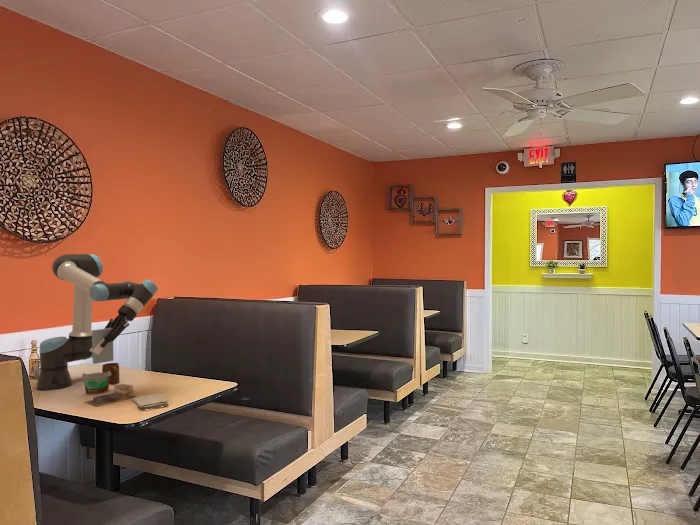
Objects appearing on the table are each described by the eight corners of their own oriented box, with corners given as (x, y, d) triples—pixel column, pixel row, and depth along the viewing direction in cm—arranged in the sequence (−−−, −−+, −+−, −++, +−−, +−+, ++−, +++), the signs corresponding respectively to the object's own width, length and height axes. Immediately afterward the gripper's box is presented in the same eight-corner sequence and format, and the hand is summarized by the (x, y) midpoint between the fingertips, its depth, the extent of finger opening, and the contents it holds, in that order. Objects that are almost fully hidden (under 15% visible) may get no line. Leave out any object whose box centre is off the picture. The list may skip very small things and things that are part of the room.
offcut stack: (124, 394, 234) (124, 383, 234) (134, 396, 229) (133, 385, 229) (113, 396, 230) (112, 385, 230) (122, 399, 225) (122, 388, 225)
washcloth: (140, 412, 210) (140, 405, 210) (130, 403, 225) (130, 396, 225) (170, 407, 217) (170, 399, 217) (159, 398, 231) (158, 391, 231)
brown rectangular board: (123, 395, 236) (123, 388, 236) (137, 399, 228) (137, 392, 228) (82, 404, 222) (82, 397, 222) (96, 409, 214) (96, 401, 214)
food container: (79, 397, 234) (78, 375, 233) (82, 394, 239) (82, 372, 239) (109, 395, 237) (109, 373, 237) (111, 391, 243) (111, 370, 243)
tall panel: (111, 360, 228) (110, 327, 228) (113, 360, 227) (112, 328, 226) (92, 363, 222) (91, 330, 221) (94, 363, 220) (94, 330, 220)
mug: (124, 384, 257) (123, 365, 257) (108, 387, 252) (107, 367, 252) (116, 380, 266) (116, 362, 266) (100, 383, 261) (100, 364, 261)
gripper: (145, 315, 231) (108, 359, 218) (127, 313, 241) (91, 356, 228) (133, 304, 227) (95, 349, 214) (115, 303, 236) (78, 345, 223)
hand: (93, 352), depth 221 cm, fingers closed on tall panel, 2 cm apart
